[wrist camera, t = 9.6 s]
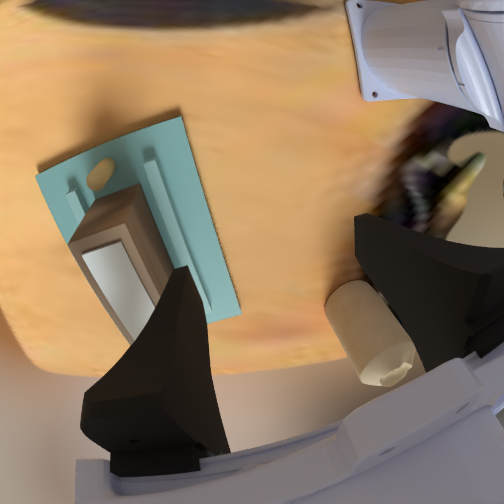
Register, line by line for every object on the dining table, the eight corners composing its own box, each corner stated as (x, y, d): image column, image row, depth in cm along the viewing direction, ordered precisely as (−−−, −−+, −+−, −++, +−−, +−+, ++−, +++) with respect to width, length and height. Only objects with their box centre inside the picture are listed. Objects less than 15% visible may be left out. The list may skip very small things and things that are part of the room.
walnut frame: (140, 182, 19) (124, 224, 13) (187, 295, 24) (191, 354, 19) (94, 199, 18) (66, 245, 13) (148, 306, 24) (144, 365, 19)
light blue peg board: (181, 115, 17) (180, 122, 14) (240, 309, 27) (248, 338, 24) (38, 173, 17) (15, 192, 14) (129, 338, 26) (126, 368, 23)
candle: (317, 297, 28) (363, 381, 20) (366, 269, 28) (424, 343, 19) (331, 328, 31) (371, 403, 23) (375, 304, 31) (423, 372, 22)
